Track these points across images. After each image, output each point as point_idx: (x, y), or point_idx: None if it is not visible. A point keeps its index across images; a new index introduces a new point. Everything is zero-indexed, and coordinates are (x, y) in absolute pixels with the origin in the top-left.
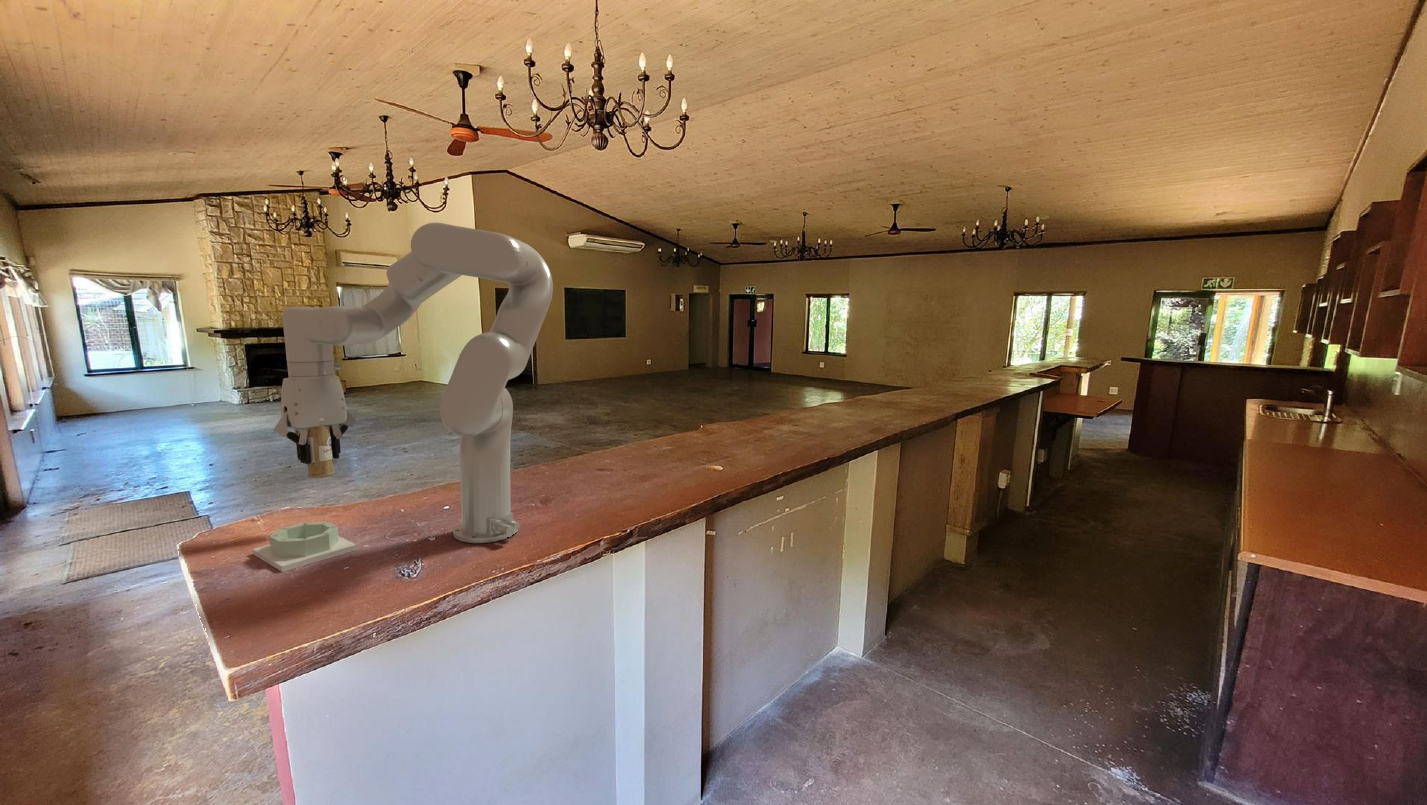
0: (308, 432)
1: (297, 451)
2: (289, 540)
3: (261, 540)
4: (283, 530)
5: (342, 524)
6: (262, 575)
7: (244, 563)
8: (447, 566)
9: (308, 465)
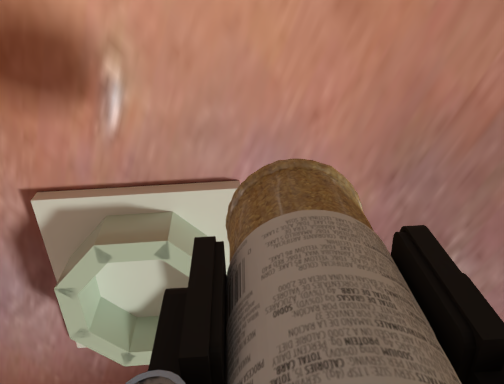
0: None
1: (158, 337)
2: (93, 345)
3: (71, 84)
4: (96, 266)
5: (317, 119)
6: (44, 327)
7: (13, 239)
8: None
9: (230, 260)
